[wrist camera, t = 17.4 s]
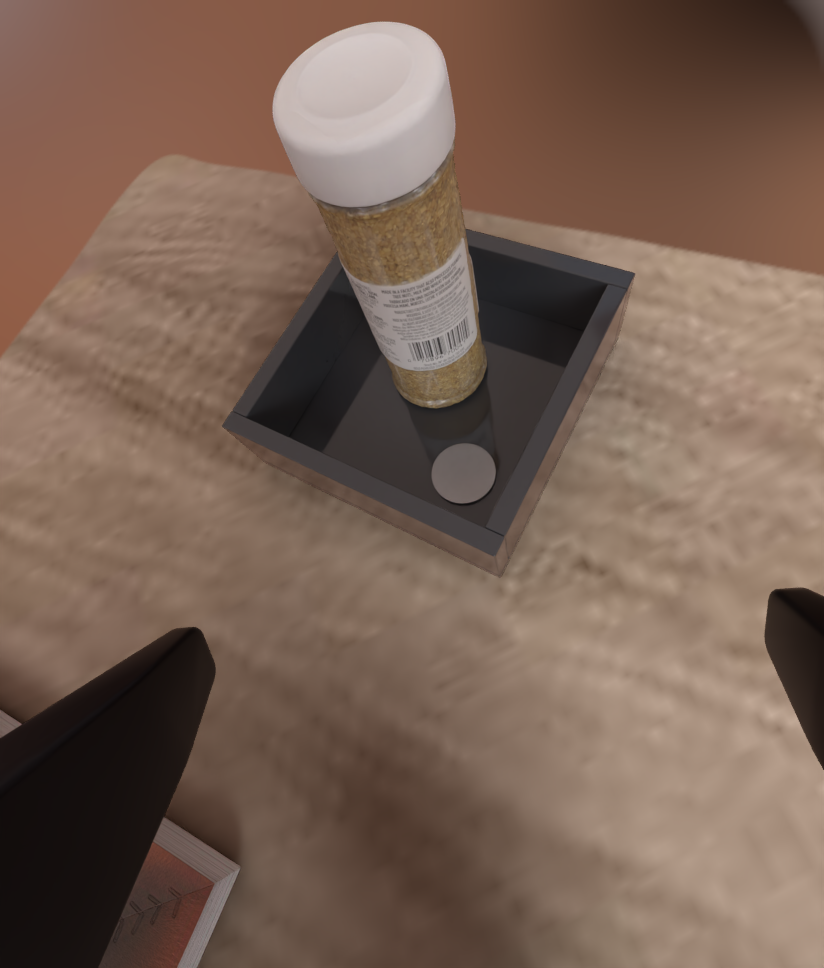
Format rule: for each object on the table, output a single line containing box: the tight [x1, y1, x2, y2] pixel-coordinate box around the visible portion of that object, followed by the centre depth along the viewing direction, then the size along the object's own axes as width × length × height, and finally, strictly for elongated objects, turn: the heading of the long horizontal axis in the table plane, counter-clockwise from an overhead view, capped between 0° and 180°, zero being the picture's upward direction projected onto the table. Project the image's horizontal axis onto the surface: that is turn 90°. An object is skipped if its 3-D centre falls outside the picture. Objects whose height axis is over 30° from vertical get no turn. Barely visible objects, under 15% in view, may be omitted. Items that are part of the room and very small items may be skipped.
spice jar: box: [273, 22, 487, 409], centre depth 19 cm, size 5×5×14 cm
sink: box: [222, 229, 635, 578], centre depth 24 cm, size 13×13×4 cm
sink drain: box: [431, 443, 496, 505], centre depth 23 cm, size 3×3×1 cm
